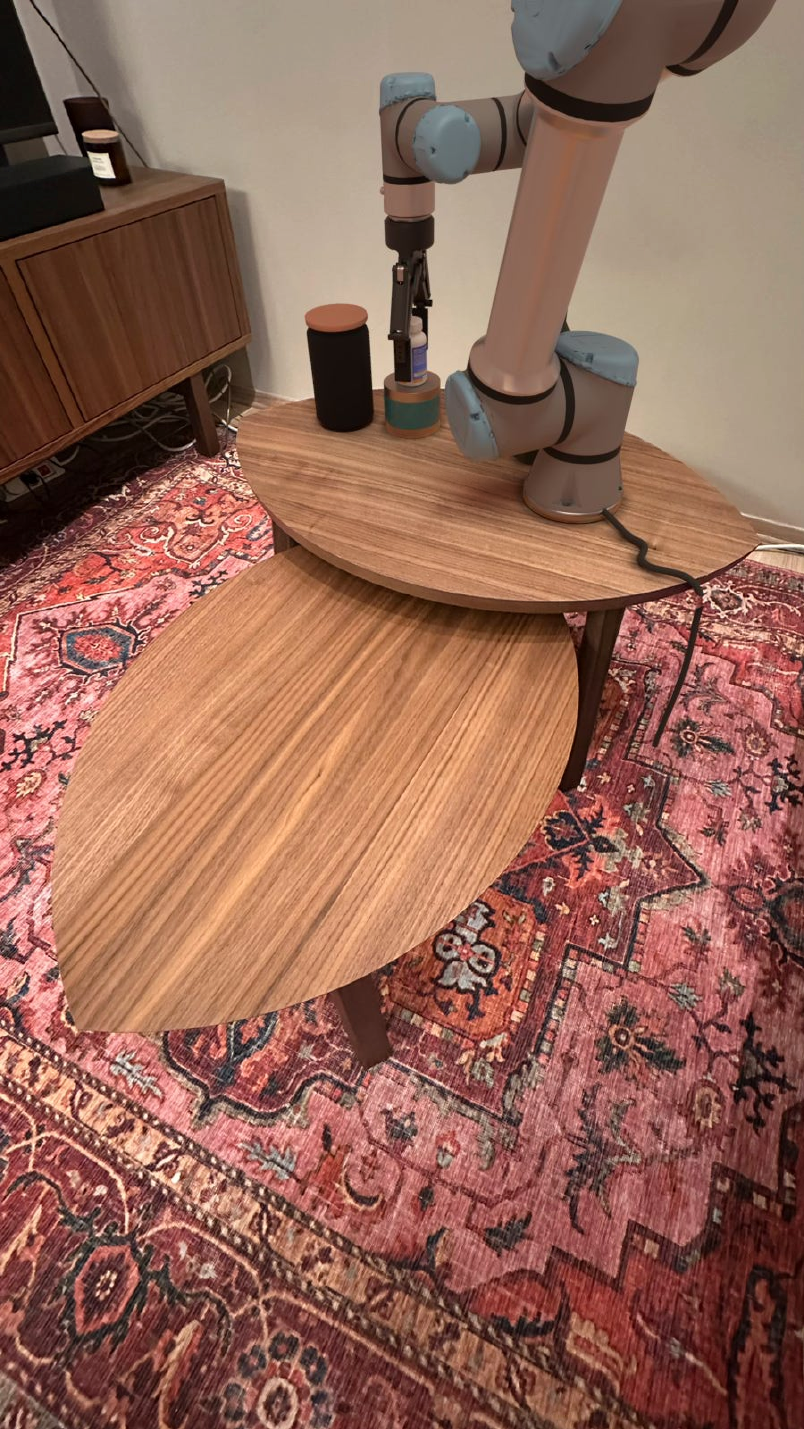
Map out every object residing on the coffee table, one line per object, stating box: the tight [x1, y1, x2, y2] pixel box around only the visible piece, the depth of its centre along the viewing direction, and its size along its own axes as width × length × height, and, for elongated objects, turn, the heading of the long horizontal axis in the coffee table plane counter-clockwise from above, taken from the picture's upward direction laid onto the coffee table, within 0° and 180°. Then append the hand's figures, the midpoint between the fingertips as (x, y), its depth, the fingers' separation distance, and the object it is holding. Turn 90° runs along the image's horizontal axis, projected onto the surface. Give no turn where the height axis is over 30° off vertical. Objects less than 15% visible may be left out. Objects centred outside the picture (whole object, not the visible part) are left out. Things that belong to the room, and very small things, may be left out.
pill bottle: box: [398, 315, 428, 386], centre depth 116 cm, size 5×5×10 cm
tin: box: [383, 370, 442, 440], centre depth 123 cm, size 10×10×8 cm
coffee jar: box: [304, 302, 375, 433], centre depth 121 cm, size 11×11×18 cm
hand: (411, 364), depth 118 cm, fingers open, 13 cm apart
